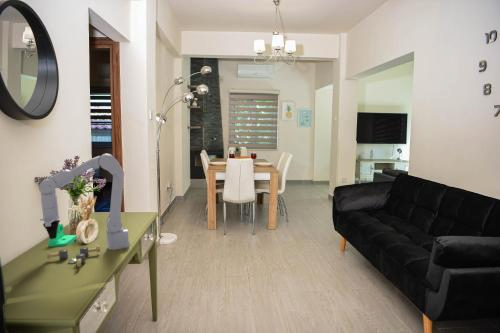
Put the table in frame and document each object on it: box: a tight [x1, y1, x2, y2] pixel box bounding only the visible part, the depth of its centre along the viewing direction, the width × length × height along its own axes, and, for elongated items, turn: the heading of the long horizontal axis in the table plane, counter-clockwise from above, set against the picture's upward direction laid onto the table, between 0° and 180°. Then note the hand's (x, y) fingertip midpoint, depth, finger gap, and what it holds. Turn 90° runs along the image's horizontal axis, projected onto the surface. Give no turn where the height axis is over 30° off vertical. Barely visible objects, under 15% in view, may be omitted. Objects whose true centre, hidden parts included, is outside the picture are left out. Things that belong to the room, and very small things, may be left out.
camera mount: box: [48, 223, 77, 247], centre depth 163 cm, size 12×8×10 cm, turn 2°
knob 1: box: [46, 248, 69, 261], centre depth 142 cm, size 8×3×4 cm, turn 110°
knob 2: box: [75, 253, 86, 268], centre depth 135 cm, size 8×3×4 cm, turn 20°
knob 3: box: [79, 245, 101, 258], centre depth 145 cm, size 8×3×4 cm, turn 110°
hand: (53, 238), depth 144 cm, fingers closed
